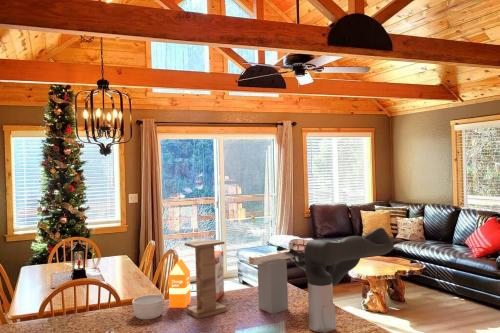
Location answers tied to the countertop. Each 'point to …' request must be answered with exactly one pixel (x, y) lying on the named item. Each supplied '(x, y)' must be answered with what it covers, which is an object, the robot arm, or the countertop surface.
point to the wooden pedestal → (205, 279)
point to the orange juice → (179, 285)
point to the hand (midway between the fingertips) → (283, 249)
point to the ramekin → (148, 306)
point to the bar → (270, 257)
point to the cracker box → (219, 273)
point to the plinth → (273, 286)
